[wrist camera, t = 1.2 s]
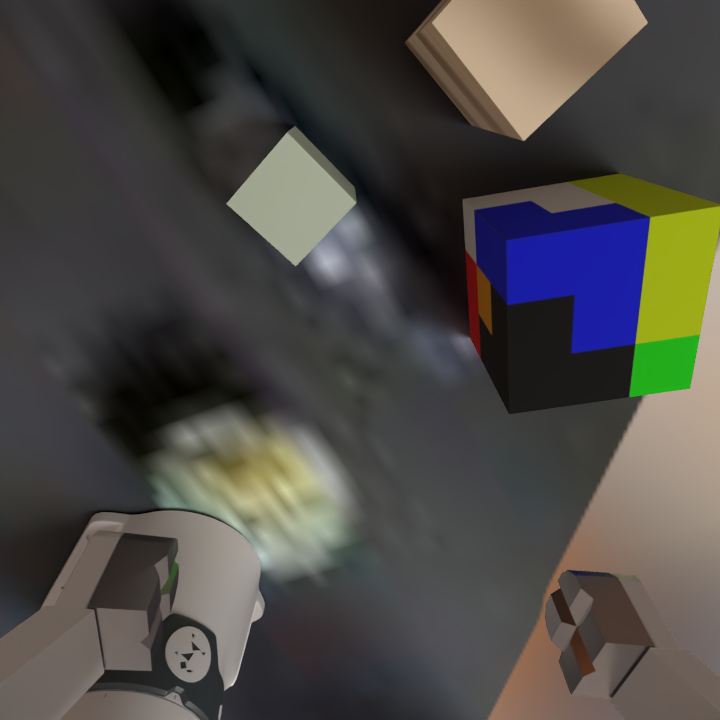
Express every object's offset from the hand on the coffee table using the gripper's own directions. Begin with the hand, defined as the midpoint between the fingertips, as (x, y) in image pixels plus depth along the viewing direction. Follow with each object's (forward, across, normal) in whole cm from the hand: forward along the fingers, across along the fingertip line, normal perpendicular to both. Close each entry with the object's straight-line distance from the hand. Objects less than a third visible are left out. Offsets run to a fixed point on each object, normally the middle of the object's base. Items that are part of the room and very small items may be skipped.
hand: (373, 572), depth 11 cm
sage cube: (+26, +4, -2) cm, 27 cm away
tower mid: (+21, -6, -12) cm, 25 cm away
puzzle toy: (+26, -13, 0) cm, 29 cm away
